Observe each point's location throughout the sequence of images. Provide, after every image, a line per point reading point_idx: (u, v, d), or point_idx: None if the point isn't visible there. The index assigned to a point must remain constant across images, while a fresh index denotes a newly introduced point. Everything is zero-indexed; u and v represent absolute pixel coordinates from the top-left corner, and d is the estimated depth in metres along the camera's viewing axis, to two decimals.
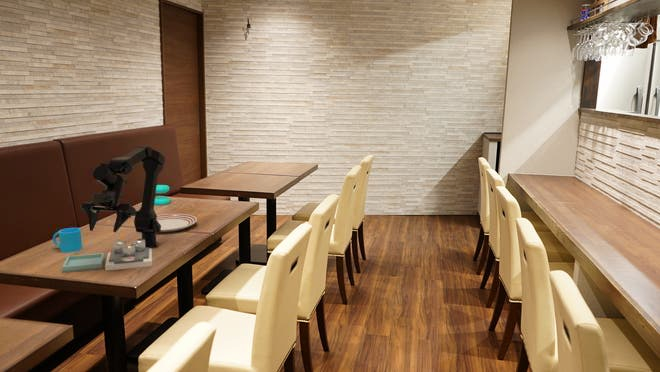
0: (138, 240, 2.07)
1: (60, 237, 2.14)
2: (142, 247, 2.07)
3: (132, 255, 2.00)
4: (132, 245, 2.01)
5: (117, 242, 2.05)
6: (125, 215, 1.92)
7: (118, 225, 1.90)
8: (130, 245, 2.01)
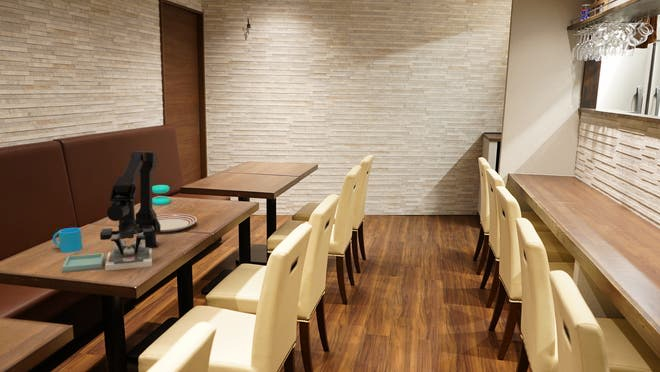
0: None
1: (60, 237, 2.14)
2: (142, 247, 2.07)
3: (132, 255, 2.00)
4: (132, 245, 2.01)
5: None
6: None
7: None
8: (130, 245, 2.01)
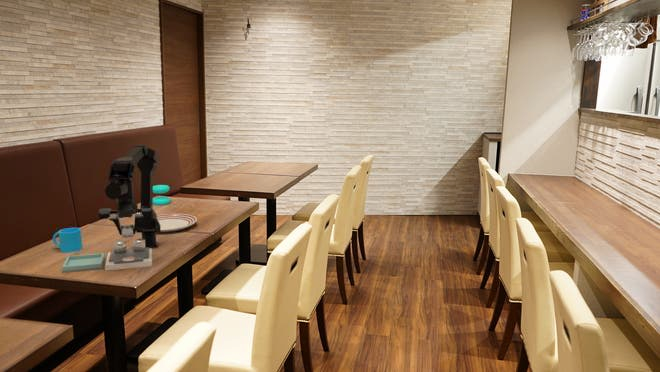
0: (138, 240, 2.08)
1: (60, 237, 2.14)
2: (142, 247, 2.07)
3: (131, 235, 1.99)
4: (131, 225, 2.00)
5: (117, 242, 2.05)
6: None
7: (136, 227, 2.01)
8: (129, 225, 2.00)
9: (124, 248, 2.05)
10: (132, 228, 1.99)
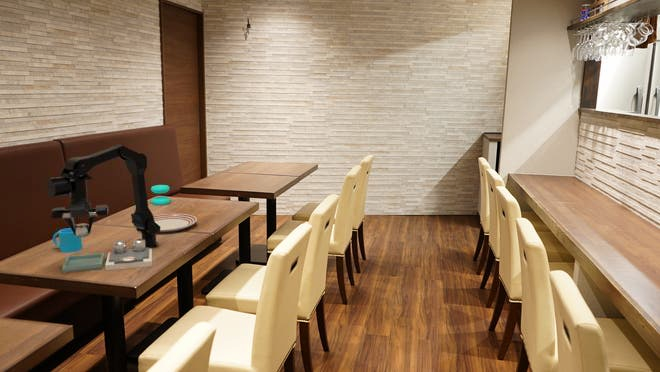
0: (138, 240, 2.08)
1: (60, 237, 2.14)
2: (142, 247, 2.07)
3: (85, 235, 1.96)
4: (85, 224, 1.97)
5: (117, 242, 2.05)
6: None
7: (91, 226, 1.98)
8: (83, 224, 1.97)
9: (124, 248, 2.05)
10: (86, 227, 1.96)
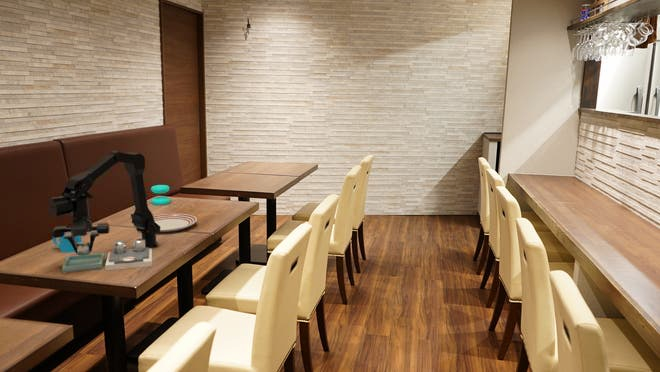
0: (138, 240, 2.08)
1: (60, 237, 2.14)
2: (142, 247, 2.07)
3: (86, 253, 1.97)
4: (86, 243, 1.98)
5: (117, 242, 2.05)
6: None
7: (92, 244, 1.99)
8: (84, 243, 1.98)
9: (124, 248, 2.05)
10: (88, 246, 1.98)
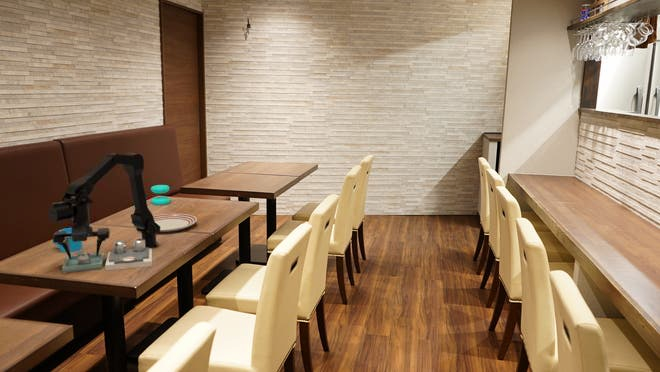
0: (138, 240, 2.08)
1: None
2: (142, 247, 2.07)
3: (87, 263, 1.98)
4: (87, 253, 1.99)
5: (117, 242, 2.05)
6: None
7: (99, 249, 2.00)
8: (85, 253, 1.99)
9: (124, 248, 2.05)
10: (89, 256, 1.98)
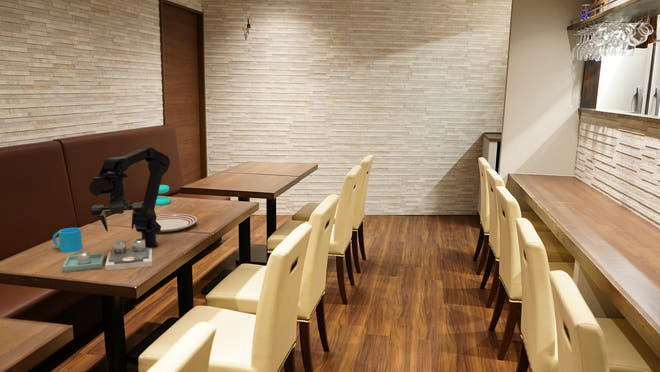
0: (138, 240, 2.08)
1: (60, 237, 2.14)
2: (142, 247, 2.07)
3: (87, 263, 1.98)
4: (87, 253, 1.99)
5: (117, 242, 2.05)
6: None
7: (134, 222, 2.08)
8: (85, 253, 1.99)
9: (124, 248, 2.05)
10: (89, 256, 1.98)
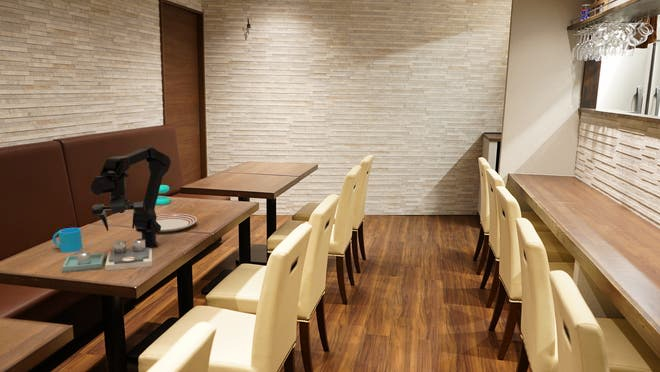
0: (138, 240, 2.08)
1: (60, 237, 2.14)
2: (142, 247, 2.07)
3: (87, 263, 1.98)
4: (87, 253, 1.99)
5: (117, 242, 2.05)
6: None
7: (135, 222, 2.08)
8: (85, 253, 1.99)
9: (124, 248, 2.05)
10: (89, 256, 1.98)
